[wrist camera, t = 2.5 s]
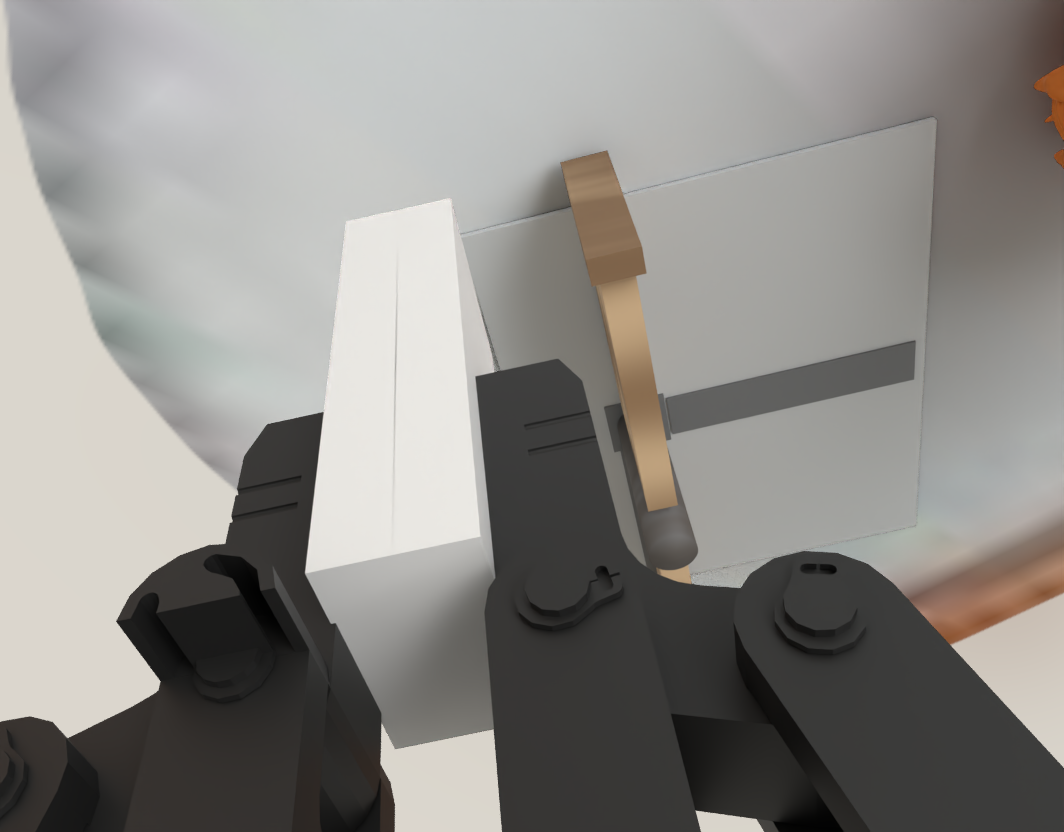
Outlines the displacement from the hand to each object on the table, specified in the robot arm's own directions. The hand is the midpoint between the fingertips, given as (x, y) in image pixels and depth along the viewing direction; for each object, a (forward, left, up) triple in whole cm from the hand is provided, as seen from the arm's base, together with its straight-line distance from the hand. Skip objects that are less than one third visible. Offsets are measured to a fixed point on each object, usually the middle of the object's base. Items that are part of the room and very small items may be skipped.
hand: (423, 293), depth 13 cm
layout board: (-8, +22, -22) cm, 32 cm away
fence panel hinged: (-4, +14, -21) cm, 26 cm away
